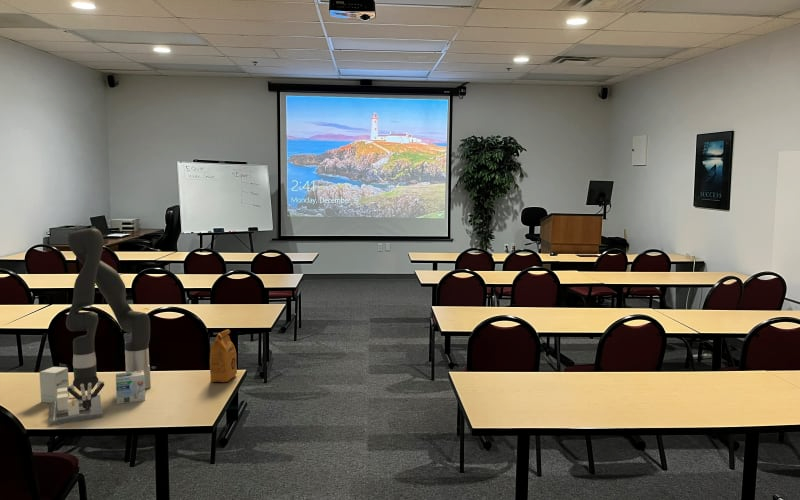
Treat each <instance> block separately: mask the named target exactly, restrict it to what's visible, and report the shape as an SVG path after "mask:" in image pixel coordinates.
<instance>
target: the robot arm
mask: <svg viewBox="0 0 800 500" xmlns="http://www.w3.org/2000/svg"><path fill="white" fill-rule="evenodd" d="M67 243H68V246H69V248H70V250H71V252H72V253H73V254H74V256H75V257H76V259H78V261H79V262H80V263H81V265H82V268H81V270H80V271H79V273H78V275H77V277H76V278H75V281H74V283H73V284H74V286H73V293H72V295H73V296H72V303H71V305H70V309H69V311H68V314H67V317H66V319H65V326H66V329H67V330H68V331H70V332H85V331H86V334H85V335H80V336H77V337H75V338H74V339H73V340H72V353H73V354H72V355H73V357H72V366H73V381H72V384H71V385H69V386H68V387H67V391H68V392H69V394H71V395H72V397H75V398H76V399H77V400H82V401H83V408H85V410H87V409H89V408H90V407H91V399H92V398H93V397H96V396H97V395H99V394H100V392H101V391H102V389H104V386H105V382H104V381H101V380H99V378H98V375H97V357H96V352H95V351H96V350H95V336H96V332H97V328H98V324H99V316H98V314H97V312H94V311H81V310H82V309H83V308H86V307H87V308H88V307H91V306H93V305H94V303H95V294H96V293H95V290H96V287H97V288H98V290H99V292H100V293H101V295H102V296H103V298H104V299H105V302H107V305H108V306H109V307H110V309H111V311H112V313H113V315H114V317H115V319H116V321H117V324H118V326H119V327H120V329H121V330H123V332H125V333H131V340H128V341H126V342H125V344H124V355H125V356H124V357H125V361H124V362H125V373H127V372H135V371H142V370H143V371H144V378H145V390H147V389H150V388H151V387H152V386H151V366H150V354H149V353H150V352H149V350H150V349H149V344H150V341H151V320H150V315H148V313H146V312H143V311H142V312H141V311H136V310H133V309H132V307H131V306H130V304H129V303H128V302H127V299H126V293H127V292H126V291H127V290H126V284H125V282H124V281H123V279H122V277H121V275H120V274H119V273H118V271H117V270H116V269H114V268H113V267H112V266H110V265H109V264H107V263H106V262H104V261H102V260H101V259H102V253H103V248H104V236H103V234H102V232H101V231H100V230H99V229H97V228H87V229H81V230H75V231H73V232H70V234H69V235H68V237H67ZM95 387H96V388H95ZM94 388H95V389H94ZM76 390H78V391H79V392H81V394H79V393H78V392H77V391H76ZM93 390H94V391H93ZM86 392H87V393H86ZM86 395H87V398H86Z"/></svg>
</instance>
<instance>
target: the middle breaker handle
mask: <svg viewBox="0 0 800 500" xmlns="http://www.w3.org/2000/svg"><path fill="white" fill-rule="evenodd" d="M68 398H69V397H68V393H67V394H60V395H57V407H58V411H60V410H67V409H68Z"/></svg>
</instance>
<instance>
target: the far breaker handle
mask: <svg viewBox="0 0 800 500" xmlns="http://www.w3.org/2000/svg"><path fill="white" fill-rule="evenodd" d="M57 393H58V395H60V394H67V393H68V391H67V388H60V389H58V391H57ZM68 400H69V399H68Z"/></svg>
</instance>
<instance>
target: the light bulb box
mask: <svg viewBox="0 0 800 500" xmlns="http://www.w3.org/2000/svg"><path fill="white" fill-rule="evenodd" d="M115 387H116V388H115V395H116V404H117V405H120V404H127V403H135V402H143V401H146V389H145V378H144V371H143V370H142V371H135V372H127V373H126V372H121V373H116V374H115Z"/></svg>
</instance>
